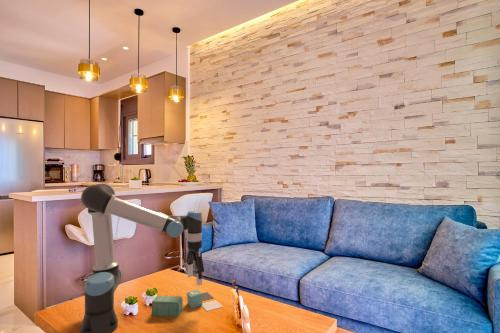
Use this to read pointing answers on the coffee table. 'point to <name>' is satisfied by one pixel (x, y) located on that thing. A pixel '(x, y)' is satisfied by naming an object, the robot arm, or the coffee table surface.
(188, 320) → the coffee table surface
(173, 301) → the box
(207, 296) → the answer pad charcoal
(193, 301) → the letter cube
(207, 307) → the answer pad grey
